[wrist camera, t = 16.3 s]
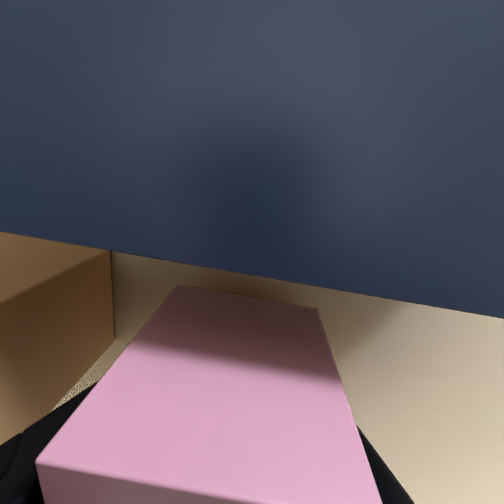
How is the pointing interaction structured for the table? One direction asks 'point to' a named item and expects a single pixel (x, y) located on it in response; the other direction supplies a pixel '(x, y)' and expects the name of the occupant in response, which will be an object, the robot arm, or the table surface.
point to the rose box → (214, 414)
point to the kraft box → (48, 323)
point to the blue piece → (265, 138)
